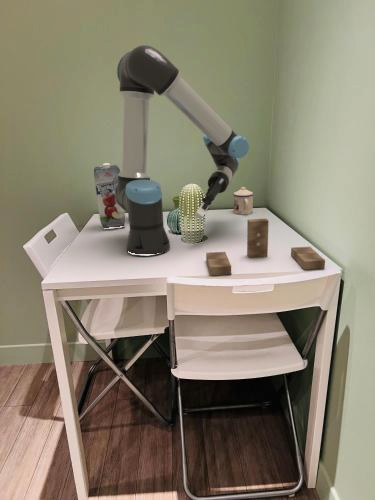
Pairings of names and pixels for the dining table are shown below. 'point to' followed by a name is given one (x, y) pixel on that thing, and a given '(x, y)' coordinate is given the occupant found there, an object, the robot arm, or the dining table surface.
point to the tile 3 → (307, 258)
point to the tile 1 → (218, 263)
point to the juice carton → (108, 196)
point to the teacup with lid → (243, 201)
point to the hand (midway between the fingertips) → (198, 215)
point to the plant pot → (176, 201)
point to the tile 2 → (257, 238)
